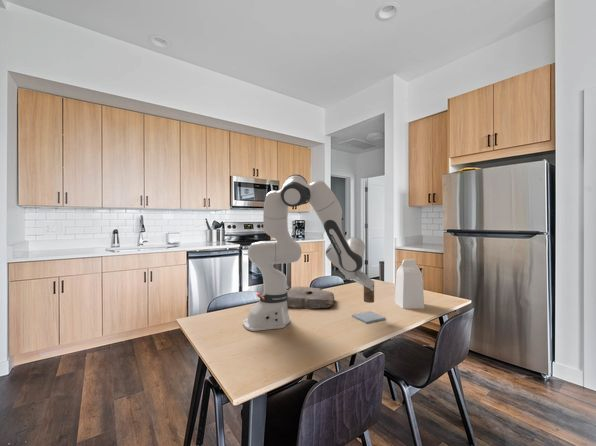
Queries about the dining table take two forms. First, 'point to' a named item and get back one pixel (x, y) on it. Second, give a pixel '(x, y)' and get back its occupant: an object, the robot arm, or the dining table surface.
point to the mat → (368, 317)
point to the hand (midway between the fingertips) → (369, 288)
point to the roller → (368, 295)
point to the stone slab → (309, 298)
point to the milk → (409, 286)
